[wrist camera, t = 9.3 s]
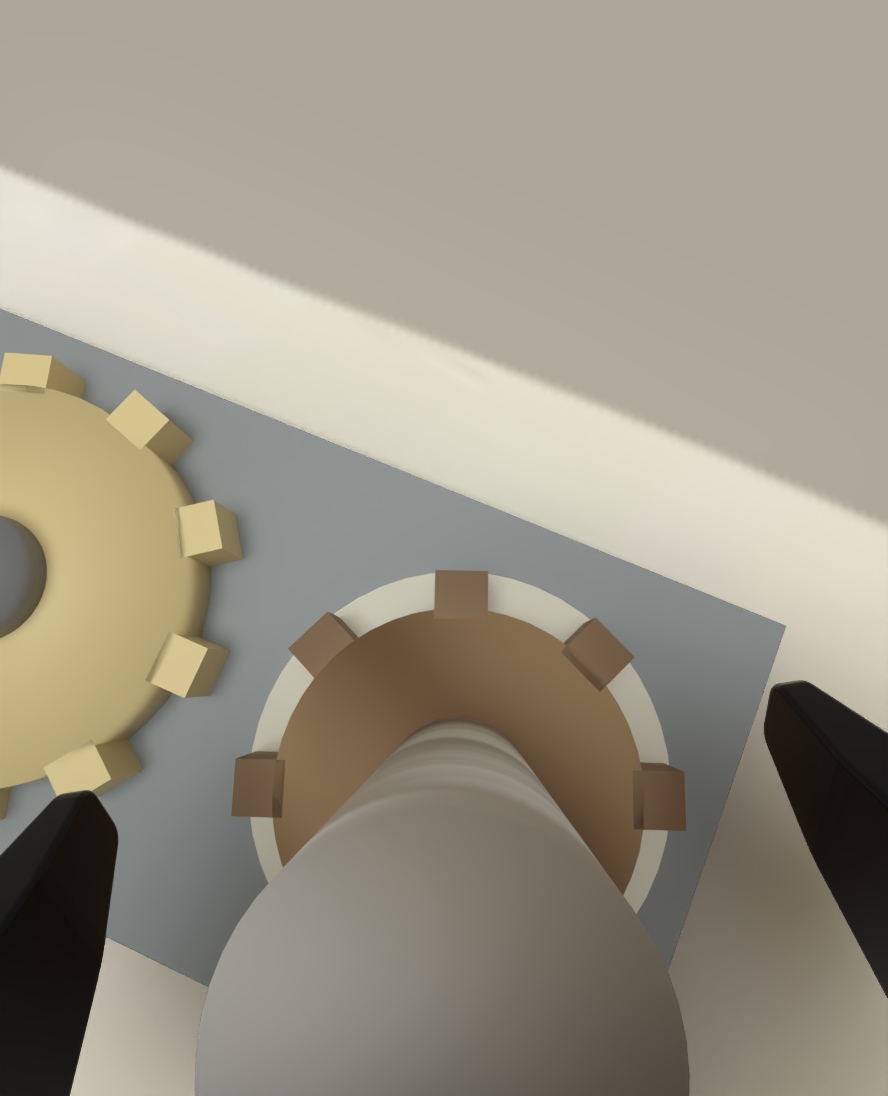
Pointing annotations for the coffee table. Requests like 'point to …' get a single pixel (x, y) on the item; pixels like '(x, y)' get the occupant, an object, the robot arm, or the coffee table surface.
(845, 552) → the coffee table surface
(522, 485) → the coffee table surface
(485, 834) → the walnut gear
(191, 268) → the coffee table surface
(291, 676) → the gear board
